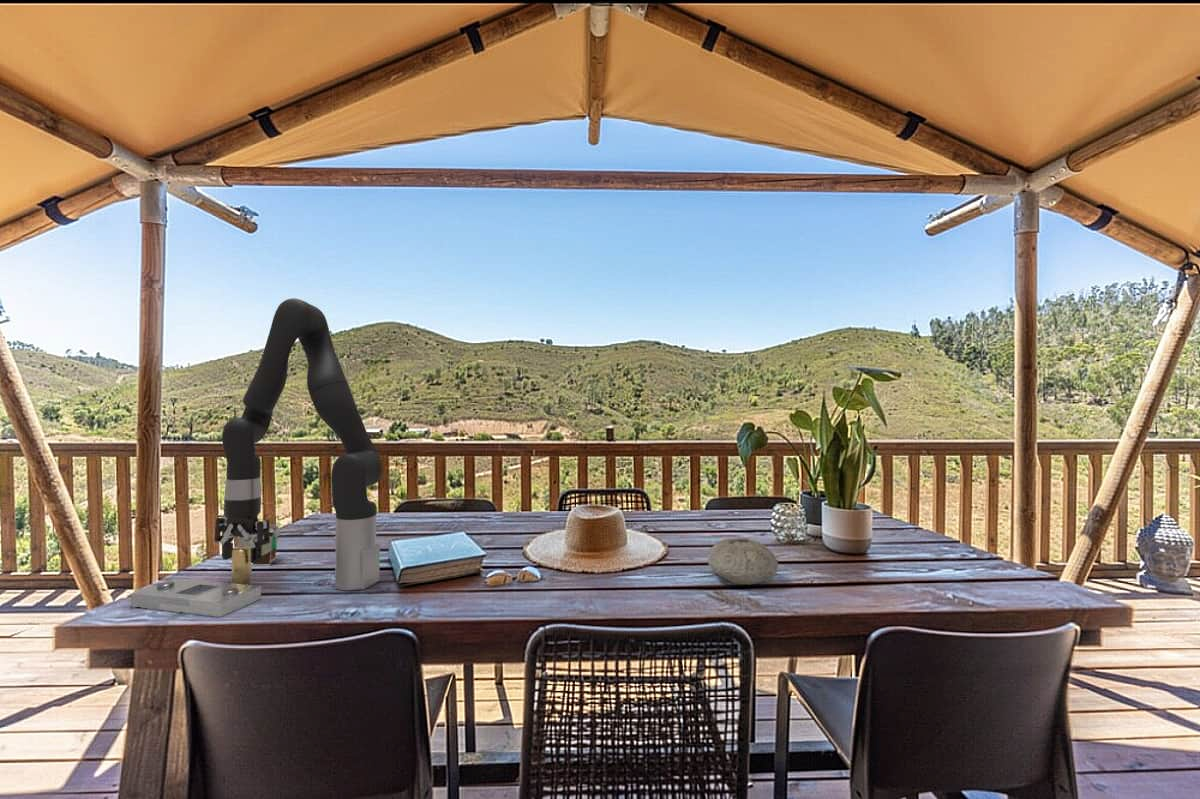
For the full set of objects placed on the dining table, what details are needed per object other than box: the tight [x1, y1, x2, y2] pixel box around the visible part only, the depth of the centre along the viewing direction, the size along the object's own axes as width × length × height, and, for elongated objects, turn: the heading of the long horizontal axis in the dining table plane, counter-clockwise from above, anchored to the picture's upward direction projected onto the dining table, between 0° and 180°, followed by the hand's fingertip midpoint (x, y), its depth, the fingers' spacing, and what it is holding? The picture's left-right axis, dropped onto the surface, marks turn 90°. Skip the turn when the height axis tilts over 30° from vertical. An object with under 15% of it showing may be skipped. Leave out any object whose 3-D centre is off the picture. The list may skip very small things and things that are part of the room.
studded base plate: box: [130, 577, 262, 618], centre depth 113 cm, size 24×10×4 cm, turn 79°
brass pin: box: [231, 546, 252, 585], centre depth 125 cm, size 4×4×9 cm
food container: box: [236, 524, 282, 566], centre depth 142 cm, size 12×6×10 cm, turn 84°
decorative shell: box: [707, 537, 779, 586], centre depth 131 cm, size 18×18×10 cm
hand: (241, 560), depth 125 cm, fingers open, 8 cm apart
